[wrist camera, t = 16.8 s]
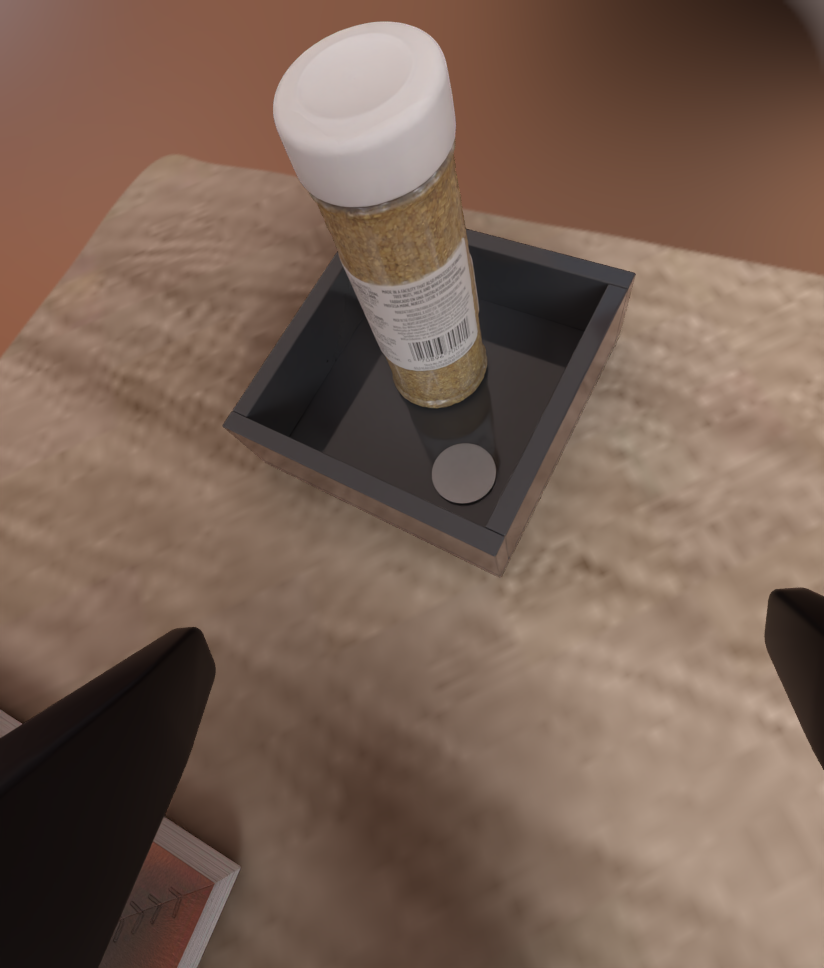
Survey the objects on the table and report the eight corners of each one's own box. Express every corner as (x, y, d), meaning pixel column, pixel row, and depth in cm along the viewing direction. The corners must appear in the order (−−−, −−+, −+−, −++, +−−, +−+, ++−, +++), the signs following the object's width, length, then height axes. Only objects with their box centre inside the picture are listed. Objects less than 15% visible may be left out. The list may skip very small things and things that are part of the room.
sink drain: (478, 515, 23) (478, 514, 23) (420, 489, 24) (420, 487, 23) (507, 459, 23) (507, 457, 23) (450, 435, 24) (449, 433, 24)
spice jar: (480, 320, 26) (436, -9, 14) (494, 403, 24) (457, 113, 12) (388, 339, 27) (267, 41, 14) (395, 420, 25) (265, 163, 13)
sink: (501, 578, 22) (495, 556, 18) (265, 463, 26) (221, 426, 23) (620, 335, 25) (636, 272, 21) (389, 264, 29) (368, 202, 25)
